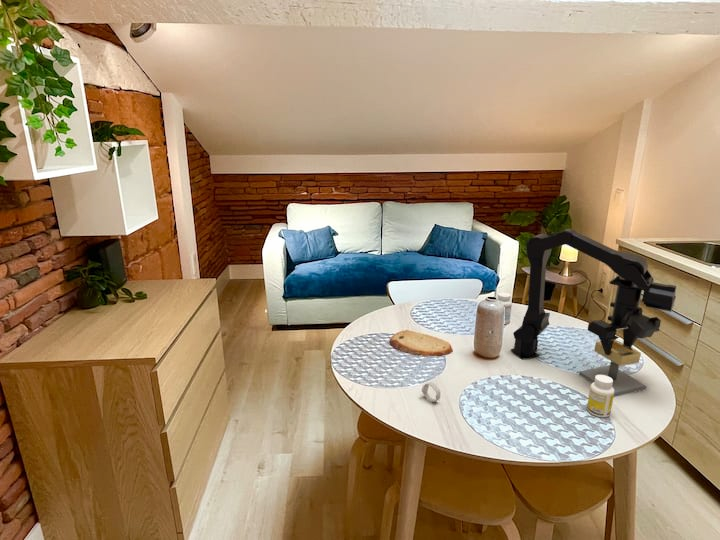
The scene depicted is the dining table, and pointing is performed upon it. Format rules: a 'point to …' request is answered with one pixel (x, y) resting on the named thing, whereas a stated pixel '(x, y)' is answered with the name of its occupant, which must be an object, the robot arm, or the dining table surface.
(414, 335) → the bread slice
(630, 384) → the keeper plate
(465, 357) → the dining table surface
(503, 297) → the pill bottle
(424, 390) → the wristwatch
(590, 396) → the supplement bottle
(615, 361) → the wooden tray box
